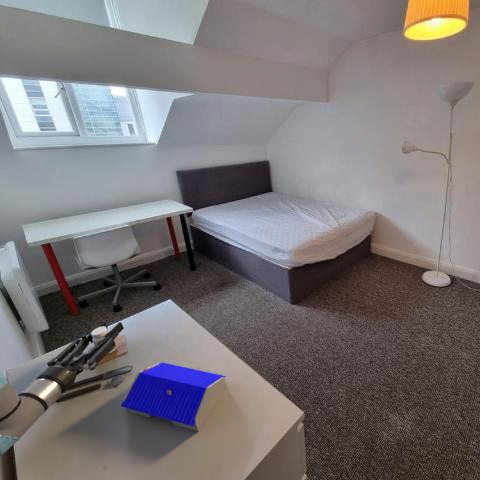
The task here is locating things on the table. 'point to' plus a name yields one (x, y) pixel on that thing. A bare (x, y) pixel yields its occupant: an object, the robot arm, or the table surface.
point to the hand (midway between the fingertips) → (113, 325)
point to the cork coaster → (119, 350)
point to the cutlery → (113, 382)
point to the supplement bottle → (100, 336)
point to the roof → (174, 394)
